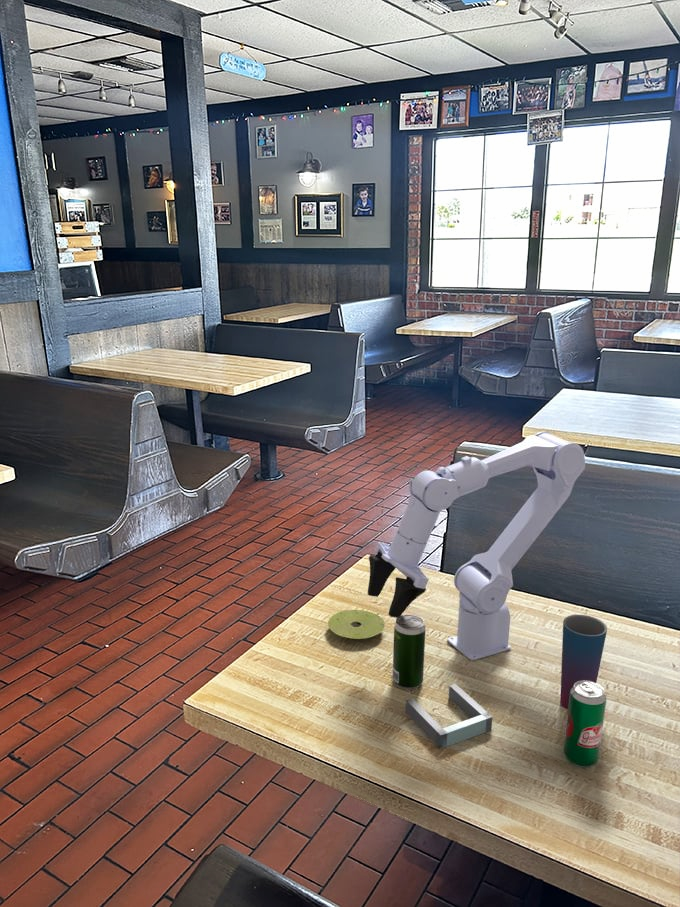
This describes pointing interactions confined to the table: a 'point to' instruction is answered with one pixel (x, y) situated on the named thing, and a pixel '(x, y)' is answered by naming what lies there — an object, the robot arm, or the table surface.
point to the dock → (457, 732)
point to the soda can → (584, 723)
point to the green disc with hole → (356, 624)
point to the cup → (580, 652)
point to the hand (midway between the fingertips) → (382, 605)
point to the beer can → (408, 652)
